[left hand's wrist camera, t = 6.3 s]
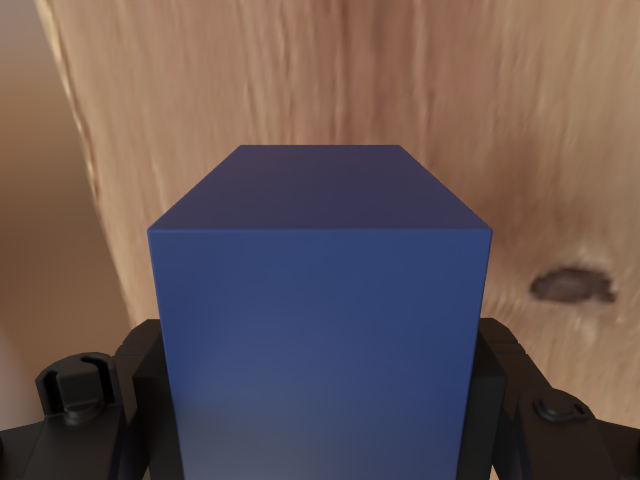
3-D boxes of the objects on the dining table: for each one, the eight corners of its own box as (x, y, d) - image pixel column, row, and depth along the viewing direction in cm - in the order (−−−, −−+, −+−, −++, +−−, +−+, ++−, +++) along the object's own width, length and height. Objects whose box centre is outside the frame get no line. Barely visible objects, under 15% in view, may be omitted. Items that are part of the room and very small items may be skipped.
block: (253, 356, 18) (198, 587, 10) (239, 144, 15) (144, 229, 7) (386, 356, 18) (440, 587, 10) (400, 144, 15) (494, 229, 7)
